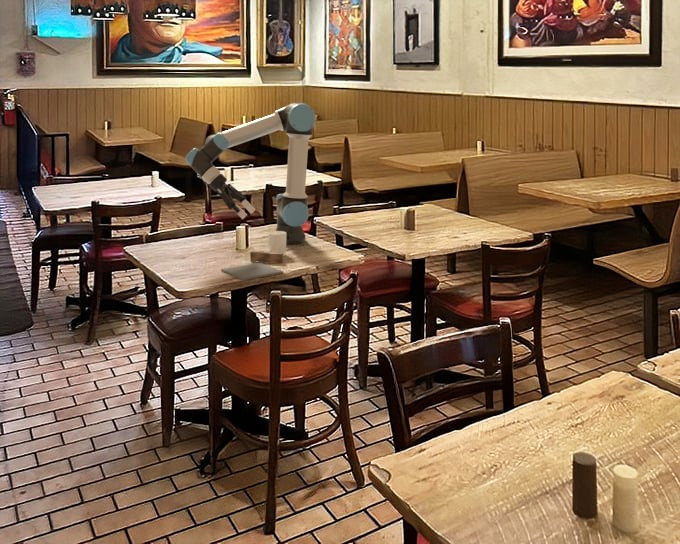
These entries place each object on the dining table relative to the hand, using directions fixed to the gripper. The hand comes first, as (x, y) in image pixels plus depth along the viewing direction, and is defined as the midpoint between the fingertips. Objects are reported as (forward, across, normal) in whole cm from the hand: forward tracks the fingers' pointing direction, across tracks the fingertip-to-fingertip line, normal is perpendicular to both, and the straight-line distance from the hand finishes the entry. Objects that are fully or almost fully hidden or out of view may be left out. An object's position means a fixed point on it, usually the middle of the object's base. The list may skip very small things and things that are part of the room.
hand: (249, 214), depth 328 cm
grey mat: (+19, +30, -6) cm, 36 cm away
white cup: (+21, 0, -4) cm, 22 cm away
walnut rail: (+20, +13, -5) cm, 24 cm away
